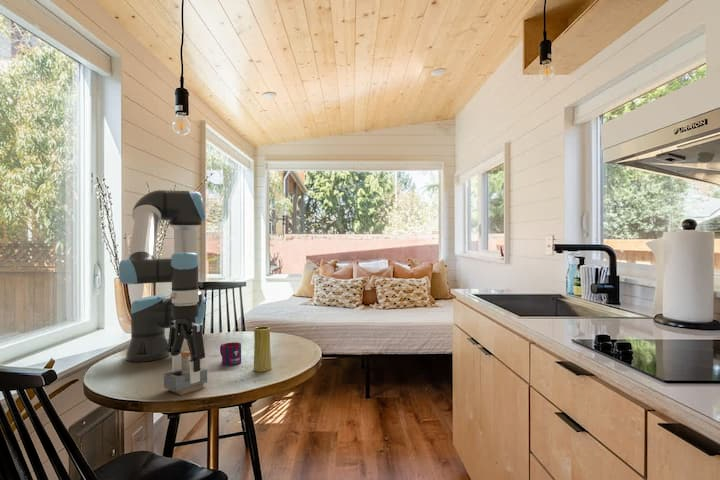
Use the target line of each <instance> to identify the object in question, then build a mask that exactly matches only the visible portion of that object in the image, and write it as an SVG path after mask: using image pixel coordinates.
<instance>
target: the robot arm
mask: <svg viewBox="0 0 720 480" xmlns="http://www.w3.org/2000/svg"><path fill="white" fill-rule="evenodd" d="M205 213H206V212H205V206H204V200H203V195H202V193H201V192H199V191H194V190H193V191H191V190H167V189H166V190H163V189H158V190H153V191H150V192H148V193H146V194H145V195H143V196H142V197H140V199H138V200H137V202H136V203H135V205H134V206H133V208H132V213H131V218H132V220H133V229H132V234H131V241H130V248H129V249H130V250H129V254H128V258H127V259H121V260H120V262H119V263H118V264H119V265H118V279H119V281H120V283H121V284H124V285H125V284H126V285H139V284H143V285H144V284H155V283H161V284H162V283H171V293H170V297H169V298H168V297H167V298H166V297H165V295H164V294H159V295H158V294H157V295H150V296H145V297H141V298H137V299H135V300H133V301H132V302H131V308H130V315H131V316H130V317H131V318H130V319H131V321H130V325H131V326H130V333H131V335H130V337H131V338H130V341H129V345H128V348H127V350H126V353H125V360H126V361H127V360H128V361H127V362H132V363H142V362H145V363H146V362H151V361H156V360H161V359H164V358H167V357H169V356H170V355H171V362H172V364H171V367H172V368H171V372H174V371H177V370H181V352H183V351H182V348H183V344H184V340H186V343H187V347H188V351H190V360H189V361H190V383H191V384H193V383H196V382H199V381H200V367H201V360H202V359H206V353H205V345H204V338H203V336H204V335H203V321H204V318H205V311H206V300H207V299H206V296H204V295H203V292H202V291H201V290H200V289H199V264H200V263H199V255H198V252H199V251H198V250H199V249H198V246H199V245H198V240H199V239H198V230H199V228H201V227H202V222H204V221H206V214H205ZM161 221H167V222H168V221H169V226H170V228H172V229H173V245H174V246H173V253H172V254H171V257H170V258H156V255H157V253H156V252H157V239H158V238H157V237H158V227H159V224H160V222H161ZM166 329H169V333H168V340H167V337H166V331H165V330H166Z"/></svg>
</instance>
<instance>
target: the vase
mask: <svg viewBox="0 0 720 480" xmlns="http://www.w3.org/2000/svg"><path fill="white" fill-rule="evenodd" d="M253 331H254V332H253V333H254V334H253V337H254V338H253V339H254V343H253V345H254V346H253V349H254V352H253V354H254V355H253V371H254V372H256V373H263V372H264V373H265V372H269V371H271V370H272V355H271V351H272V350H271V333H270V332H271V328H270V326H258V327H254V330H253Z"/></svg>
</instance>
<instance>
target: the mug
mask: <svg viewBox="0 0 720 480" xmlns="http://www.w3.org/2000/svg"><path fill="white" fill-rule="evenodd" d="M219 346H220V347H219V353H220V355H221V365H222V366H224V367H225V366H226V367H229V366H237V365H240V364H241V363H242V343H241V342H232V341H231V342H227V343H222V344H220V345H219Z"/></svg>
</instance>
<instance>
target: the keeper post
mask: <svg viewBox="0 0 720 480" xmlns="http://www.w3.org/2000/svg"><path fill="white" fill-rule="evenodd" d="M180 354H181V369H182V375H184V374H187V373H190V361H189V360H191V355H190V351H189V350H185V351H182V352H181V353H180ZM201 389H204V384H200V385H197V386H194V387H191V388H188V389H184V390H181V391H178V392H174V391H172V390H169V389H168V391H170V392H172V393H175V394H178V395H180V396H183V395H186V394H189V393H192V392H195V391H198V390H201Z"/></svg>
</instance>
